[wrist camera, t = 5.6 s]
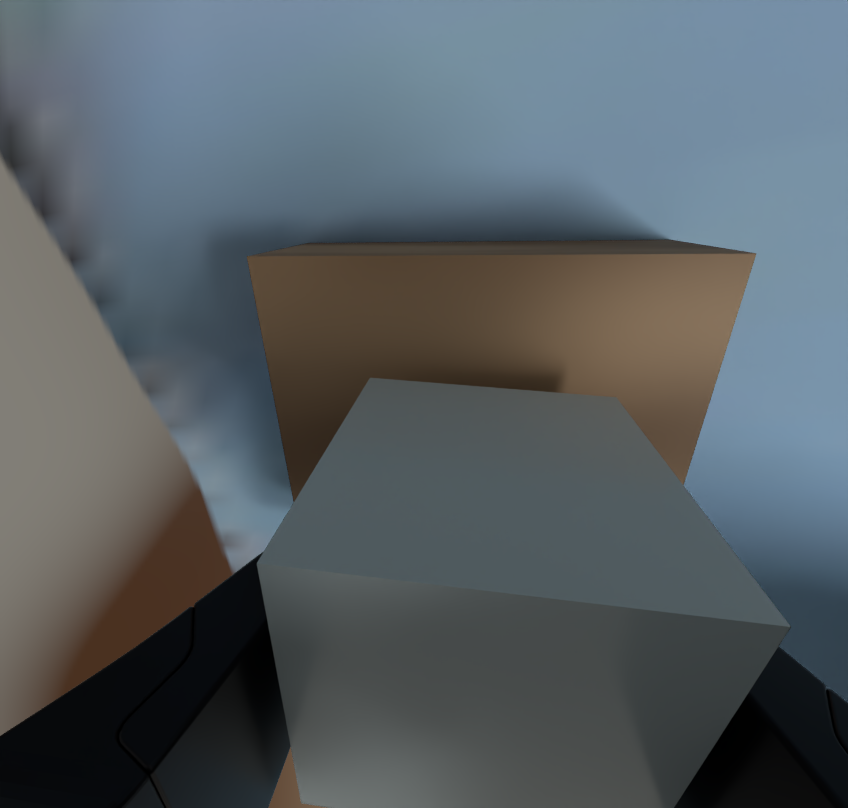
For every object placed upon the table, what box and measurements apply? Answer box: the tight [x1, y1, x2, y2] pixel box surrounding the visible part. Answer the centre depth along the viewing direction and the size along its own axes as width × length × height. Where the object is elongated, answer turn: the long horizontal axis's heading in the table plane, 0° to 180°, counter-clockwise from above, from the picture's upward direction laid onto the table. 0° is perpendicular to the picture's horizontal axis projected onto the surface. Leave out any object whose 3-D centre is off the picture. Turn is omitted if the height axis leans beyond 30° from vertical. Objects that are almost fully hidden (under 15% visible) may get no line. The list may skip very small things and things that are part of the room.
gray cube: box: [257, 378, 791, 808], centre depth 7 cm, size 5×5×5 cm
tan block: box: [247, 240, 756, 501], centre depth 12 cm, size 10×10×4 cm
